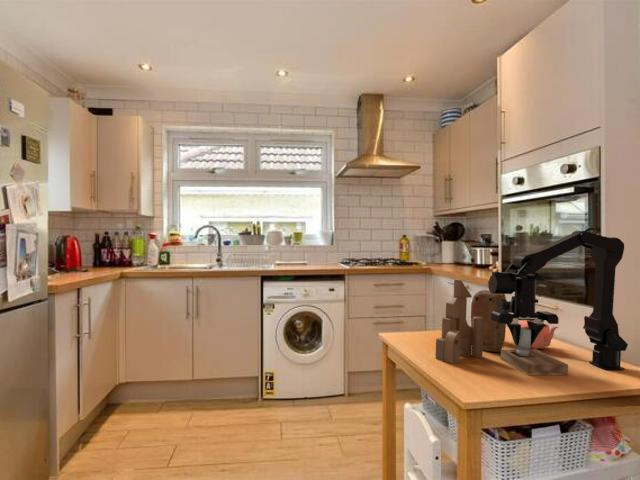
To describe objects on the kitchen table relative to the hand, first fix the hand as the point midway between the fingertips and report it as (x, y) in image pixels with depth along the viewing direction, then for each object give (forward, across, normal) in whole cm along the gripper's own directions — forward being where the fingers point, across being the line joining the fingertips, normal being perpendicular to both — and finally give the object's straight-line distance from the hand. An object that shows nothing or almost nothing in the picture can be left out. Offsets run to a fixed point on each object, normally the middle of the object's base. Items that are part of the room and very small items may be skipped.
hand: (523, 345), depth 118 cm
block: (+6, +3, -16) cm, 17 cm away
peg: (+3, 0, 0) cm, 3 cm away
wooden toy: (+6, +17, -6) cm, 19 cm away
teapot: (+6, -15, -18) cm, 24 cm away
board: (+6, -2, +2) cm, 7 cm away
